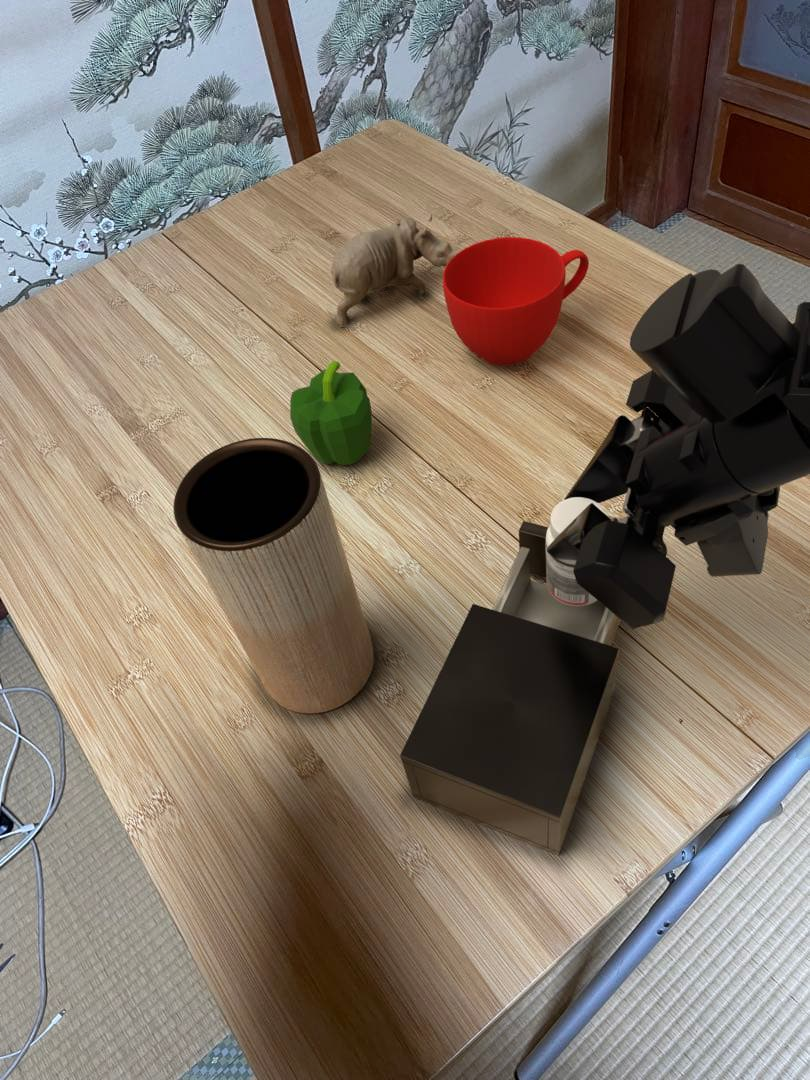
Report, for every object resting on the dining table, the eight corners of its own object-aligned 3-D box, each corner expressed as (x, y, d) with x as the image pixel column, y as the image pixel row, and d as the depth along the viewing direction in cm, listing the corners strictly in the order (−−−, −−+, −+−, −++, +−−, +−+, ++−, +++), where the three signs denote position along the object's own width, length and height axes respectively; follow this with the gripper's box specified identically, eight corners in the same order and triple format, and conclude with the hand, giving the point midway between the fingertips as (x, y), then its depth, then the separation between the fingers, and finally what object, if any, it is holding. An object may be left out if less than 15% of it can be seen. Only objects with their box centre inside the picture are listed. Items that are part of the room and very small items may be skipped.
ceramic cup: (616, 343, 94) (623, 265, 86) (484, 400, 91) (478, 325, 83) (554, 287, 101) (555, 211, 94) (431, 338, 98) (421, 263, 91)
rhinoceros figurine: (299, 284, 104) (351, 177, 95) (391, 309, 112) (447, 211, 103) (315, 324, 100) (371, 215, 91) (409, 346, 108) (469, 248, 98)
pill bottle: (586, 551, 68) (589, 482, 62) (618, 592, 65) (625, 525, 59) (535, 574, 67) (533, 507, 61) (565, 617, 64) (567, 552, 58)
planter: (354, 725, 68) (288, 559, 51) (244, 703, 71) (145, 537, 54) (388, 624, 74) (340, 443, 57) (285, 607, 77) (208, 429, 59)
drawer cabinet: (478, 653, 71) (472, 603, 65) (612, 696, 67) (619, 647, 61) (412, 797, 64) (399, 755, 58) (558, 855, 60) (560, 817, 54)
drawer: (540, 526, 78) (540, 484, 73) (652, 555, 74) (659, 513, 70) (472, 675, 69) (467, 638, 64) (596, 717, 65) (600, 681, 61)
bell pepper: (341, 490, 85) (321, 418, 77) (289, 455, 89) (265, 384, 81) (398, 443, 88) (384, 369, 80) (345, 411, 92) (327, 338, 85)
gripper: (810, 651, 47) (604, 694, 59) (834, 426, 57) (655, 501, 69) (683, 536, 44) (492, 607, 56) (733, 318, 54) (562, 417, 66)
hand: (559, 529), depth 62 cm, fingers closed on pill bottle, 4 cm apart
